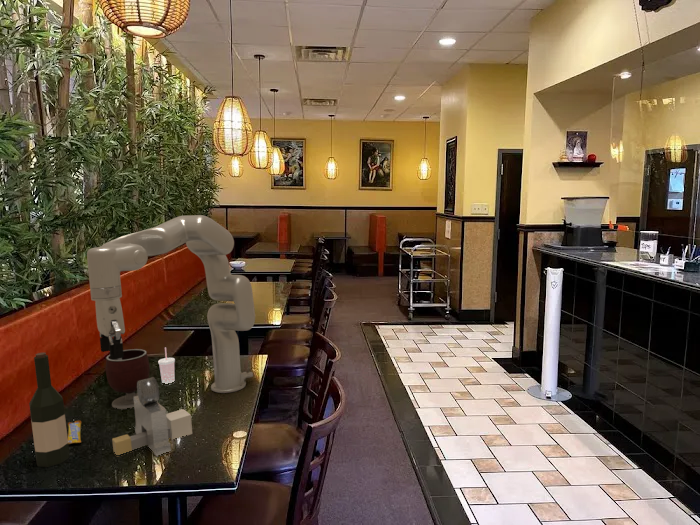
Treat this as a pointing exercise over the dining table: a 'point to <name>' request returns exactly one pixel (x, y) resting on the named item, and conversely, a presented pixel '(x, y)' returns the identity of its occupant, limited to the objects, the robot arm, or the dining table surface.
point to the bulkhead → (151, 416)
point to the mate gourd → (127, 375)
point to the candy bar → (74, 432)
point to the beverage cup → (167, 369)
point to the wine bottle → (48, 418)
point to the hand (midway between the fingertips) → (112, 354)
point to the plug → (176, 427)
